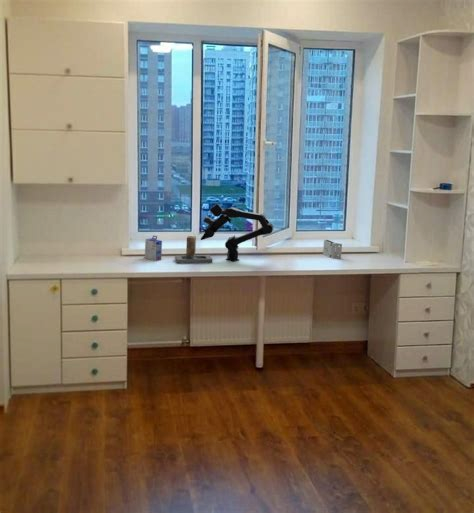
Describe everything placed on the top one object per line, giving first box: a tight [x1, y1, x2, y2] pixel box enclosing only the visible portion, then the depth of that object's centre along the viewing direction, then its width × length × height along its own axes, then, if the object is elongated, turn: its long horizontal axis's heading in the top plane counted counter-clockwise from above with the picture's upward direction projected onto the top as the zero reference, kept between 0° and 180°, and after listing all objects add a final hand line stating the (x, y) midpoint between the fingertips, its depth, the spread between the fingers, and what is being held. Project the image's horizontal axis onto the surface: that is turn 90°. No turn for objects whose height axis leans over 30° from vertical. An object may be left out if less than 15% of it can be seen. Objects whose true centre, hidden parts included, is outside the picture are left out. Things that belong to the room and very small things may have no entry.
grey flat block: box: [174, 254, 213, 264], centre depth 402 cm, size 22×9×2 cm, turn 104°
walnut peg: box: [185, 235, 197, 256], centre depth 411 cm, size 5×5×13 cm
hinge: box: [322, 239, 343, 259], centre depth 430 cm, size 14×5×10 cm, turn 41°
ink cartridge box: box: [144, 235, 163, 262], centre depth 401 cm, size 10×6×14 cm, turn 53°
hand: (202, 237), depth 408 cm, fingers open, 9 cm apart
